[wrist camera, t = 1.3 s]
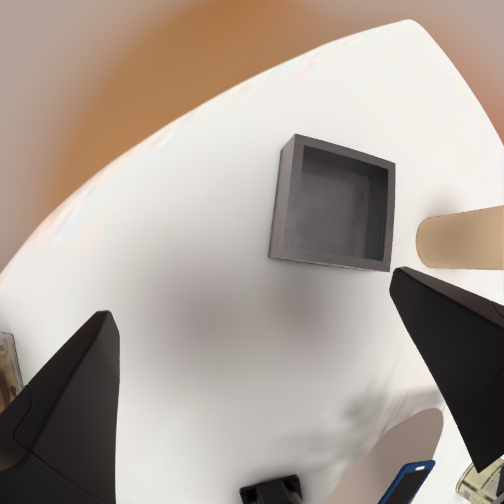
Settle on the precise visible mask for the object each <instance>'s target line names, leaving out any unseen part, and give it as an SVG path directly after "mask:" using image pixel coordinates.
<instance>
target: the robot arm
mask: <svg viewBox="0 0 504 504" xmlns="http://www.w3.org/2000/svg"><path fill="white" fill-rule="evenodd" d="M389 292H390V296H391V298H392V300H393V302H394V304H395V306H396V308H397V310H398V312H399V315H400V317H401V319H402V321H403V323H404V325H405V327H406V329H407V331H408V333H409V335H410V337H411V338H412V340H413V342H414V344H415V345H416V347H417V349H418V351H419V352H420V354H421V356H422V358H423V360H424V361H425V363H426V365H427V367H428V369H429V371H430V373H431V374H432V376H433V378H434V380H435V382H436V384H437V386H438V388H439V390H440V392H441V394H442V396H443V398H444V400H445V402H446V404H447V406H448V408H449V410H450V412H451V414H452V416H453V418H454V420H455V422H456V425H457V427H458V429H459V431H460V434H461V436H462V438H463V440H464V443H465V445H466V447H467V450H468V452H469V454H470V457H471V459H472V462H473V464H474V467H475V469H476V471H477V473H478V474H479V473H480V472H482V471H483V470H484V469H486V468H487V467H488V466H490V465H491V464H492V463H494V462H495V461H496V460H497V459H499V458H500V457H501V456H502V455H503V454H504V306H503V305H500V304H498V303H496V302H493V301H490V300H488V299H486V298H484V297H481V296H479V295H477V294H474V293H472V292H469V291H467V290H464V289H462V288H459V287H457V286H455V285H452V284H450V283H447V282H445V281H442V280H440V279H437V278H435V277H432V276H429V275H427V274H424V273H422V272H419V271H417V270H414V269H411V268H409V267H405V266H404V267H399V268H396V269H395V270H394V272H393V276H392V280H391V284H390V288H389ZM119 384H120V335H119V331H118V328H117V326H116V323H115V321H114V318H113V316H112V313H111V312H110V311H109V310H104V311H97V312H96V313H95V314H93V315H92V316H91V317H90V318H89V319H88V320H87V321H86V322H85V323H84V324H83V325H82V326H81V327H80V328H79V330H78V331H77V332H76V333H75V334H74V335H73V336H72V337H71V338H70V339H69V340H68V341H67V342H66V343H65V344H64V345H63V346H62V347H61V348H60V349H59V350H58V351H57V352H56V353H55V354H54V355H53V356H52V358H51V359H50V360H49V361H48V362H47V363H46V364H45V365H44V366H43V367H42V368H41V369H40V370H39V372H38V373H37V374H36V375H35V376H34V377H33V378H32V379H31V380H30V381H29V383H28V384H27V385H26V386H25V387H24V388H23V389H22V390H21V392H20V393H19V394H18V395H17V396H16V397H15V398H14V399H13V400H12V401H11V403H10V404H9V405H8V406H7V407H6V408H5V409H4V410H3V411H2V412H1V413H0V504H116V495H115V449H116V425H117V409H118V396H119ZM293 479H294V480H293ZM239 492H240V495H241V498H242V501H243V504H303V502H302V495H301V489H300V483H299V478H298V476H296V475H293V476H290V477H286V478H283V479H279V480H275V481H272V482H268V483H264V484H260V485H255V486H251V487H247V488H242V489H240V491H239ZM496 496H497V499H496V500H494V501H493V502H492V503H491V504H504V465H503V466H502V467H501V472H500V477H499V482H498V487H497V492H496Z"/></svg>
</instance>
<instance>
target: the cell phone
mask: <svg viewBox="0 0 504 504" xmlns="http://www.w3.org/2000/svg"><path fill="white" fill-rule="evenodd" d="M434 465H435V461H434V460H427V461H420V462H412V463H407V464H405V465H403V466H402V468H401V469H400V471H399V472H398V474H397V476H396V477H395V479H394V480H393V482H392V483H391V485H390V486H389V488H388V489H387V491H386V492H385V494H384V495H383V496H382V498H381V499H380V500H379V502H378V504H409V502H410V501H411V500H412V498H413V497H414V495H415V494H416V493H417V491H418V490H419V488H420V487H421V485H422V484H423V482H424V481H425V479H426V478H427V476H428V475H429V473H430V472H431V470H432V469H433V467H434Z"/></svg>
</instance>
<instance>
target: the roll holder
mask: <svg viewBox="0 0 504 504" xmlns="http://www.w3.org/2000/svg"><path fill="white" fill-rule="evenodd" d="M394 209H395V163H393V162H390V161H387V160H384V159H381V158H378V157H375V156H372V155H369V154H366V153H363V152H360V151H357V150H353V149H350V148H347V147H343V146H340V145H336V144H333V143H329V142H326V141H322V140H318V139H315V138H311V137H307V136H303V135H299V134H294V135H293V137H292V138H291V139H290V140H289V141H288V143H287V144H286V145H285V146H284V147H283V149H282V150H281V155H280V163H279V172H278V180H277V188H276V197H275V205H274V213H273V221H272V229H271V237H270V245H269V252H268V257H269V258H276V259H284V260H291V261H298V262H306V263H313V264H320V265H327V266H335V267H342V268H349V269H357V270H364V271H379V272H390V262H391V252H392V241H393V227H394Z"/></svg>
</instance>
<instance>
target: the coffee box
mask: <svg viewBox="0 0 504 504" xmlns="http://www.w3.org/2000/svg"><path fill="white" fill-rule="evenodd" d="M22 389H23V385H22V381H21V377H20V372H19V367H18V362H17V357H16V351H15V345H14V339H13V335H12V334H8V333H1V332H0V413H1V412H2V411H3V410H4V409H5V408H6V407H7V406H8V405H9V404H10V403H11V401H12V400H13V399H14V398H15V397H16V396H17V395H18V394H19V393H20V392H21V390H22Z"/></svg>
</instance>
